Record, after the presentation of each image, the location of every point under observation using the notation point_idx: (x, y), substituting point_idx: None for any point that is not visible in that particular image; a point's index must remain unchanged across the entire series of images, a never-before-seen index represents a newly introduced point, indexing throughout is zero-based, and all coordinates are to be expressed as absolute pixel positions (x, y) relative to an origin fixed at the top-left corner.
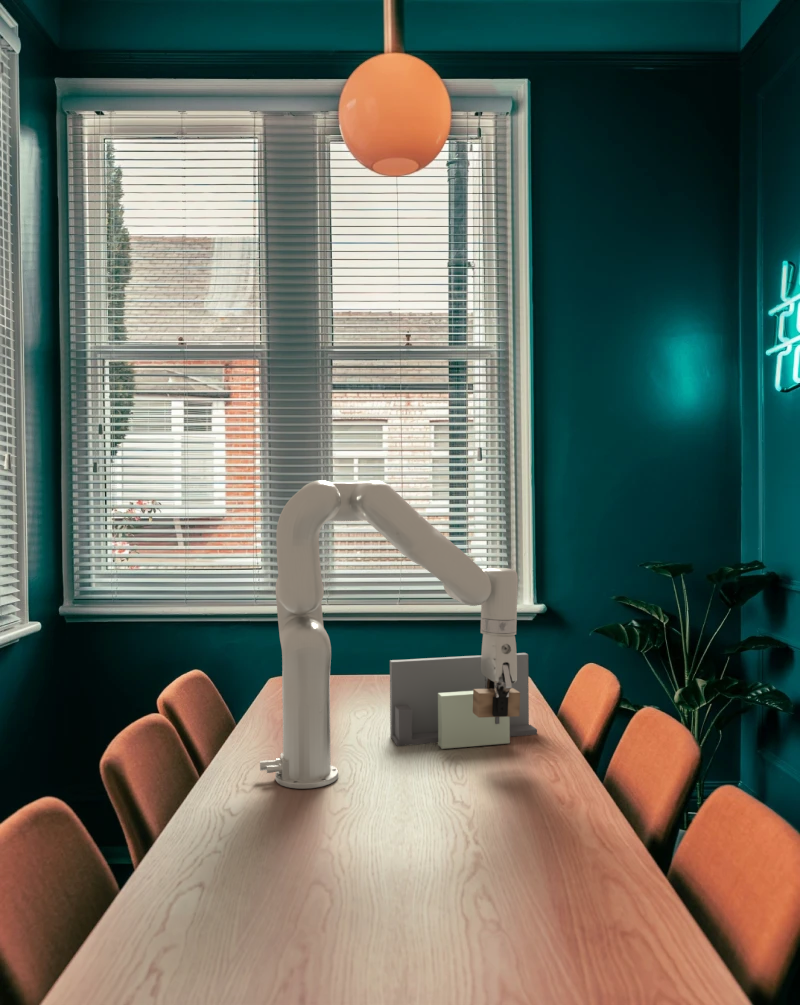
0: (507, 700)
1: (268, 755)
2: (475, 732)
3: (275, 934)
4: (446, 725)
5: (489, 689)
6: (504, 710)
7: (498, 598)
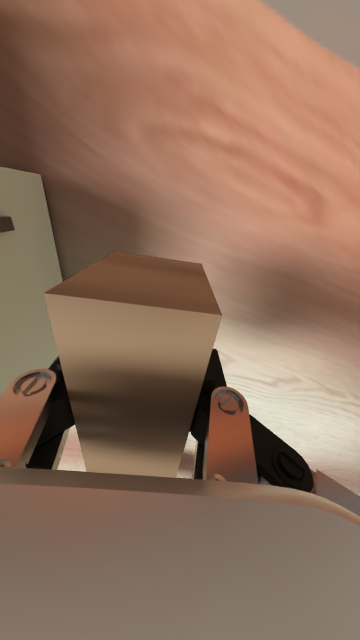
0: (212, 368)
1: (71, 460)
2: (42, 286)
3: (351, 485)
4: (46, 358)
5: (99, 437)
6: (216, 355)
7: None
